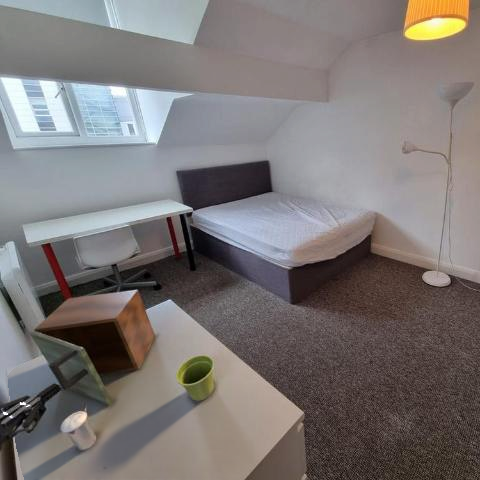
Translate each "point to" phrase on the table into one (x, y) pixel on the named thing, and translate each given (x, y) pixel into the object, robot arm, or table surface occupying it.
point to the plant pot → (197, 376)
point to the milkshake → (79, 430)
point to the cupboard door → (71, 367)
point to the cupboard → (104, 329)
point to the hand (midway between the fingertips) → (58, 386)
